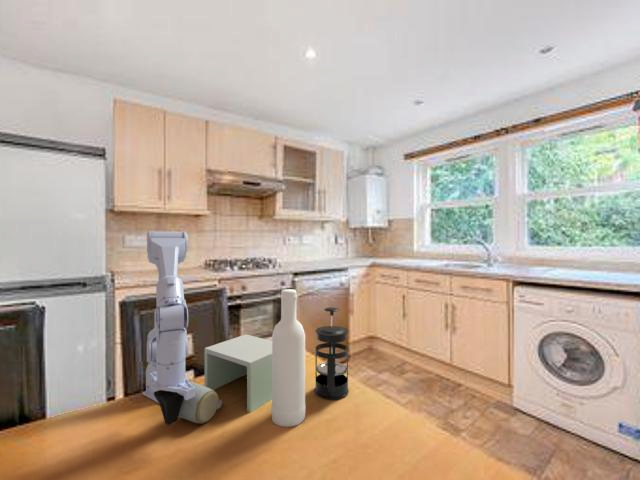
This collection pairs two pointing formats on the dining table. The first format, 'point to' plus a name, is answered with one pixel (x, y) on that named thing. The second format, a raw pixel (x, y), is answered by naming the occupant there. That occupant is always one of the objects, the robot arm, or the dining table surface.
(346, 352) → the french press
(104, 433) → the dining table surface
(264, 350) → the counter shelf
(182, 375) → the robot arm
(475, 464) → the dining table surface
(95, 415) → the dining table surface
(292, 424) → the bottle
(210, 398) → the ceramic mug
